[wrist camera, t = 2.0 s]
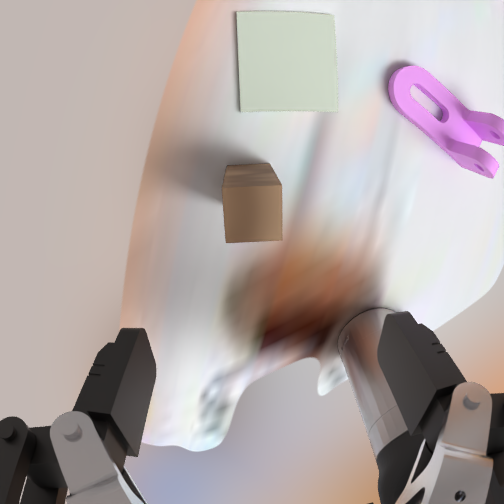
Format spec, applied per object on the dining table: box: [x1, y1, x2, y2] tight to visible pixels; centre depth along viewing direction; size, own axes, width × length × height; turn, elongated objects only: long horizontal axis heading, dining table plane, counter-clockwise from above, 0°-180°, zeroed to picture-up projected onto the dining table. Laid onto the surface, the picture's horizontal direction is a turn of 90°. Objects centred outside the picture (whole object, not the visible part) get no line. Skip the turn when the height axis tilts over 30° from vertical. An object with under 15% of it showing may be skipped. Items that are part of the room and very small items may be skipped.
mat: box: [237, 11, 338, 112], centre depth 25 cm, size 9×10×1 cm
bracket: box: [388, 66, 504, 178], centre depth 24 cm, size 13×6×7 cm, turn 62°
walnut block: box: [222, 164, 282, 243], centre depth 26 cm, size 4×4×9 cm
